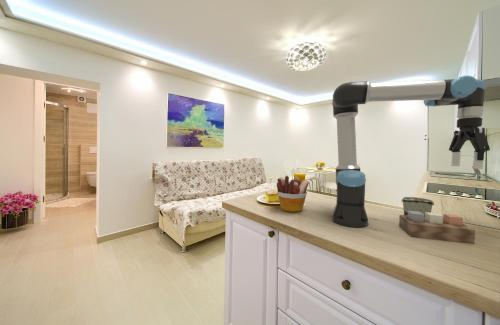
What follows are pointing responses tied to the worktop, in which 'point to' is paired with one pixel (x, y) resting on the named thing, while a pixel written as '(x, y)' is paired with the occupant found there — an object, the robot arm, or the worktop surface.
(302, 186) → the bucket of meat
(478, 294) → the worktop surface
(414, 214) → the slate key
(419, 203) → the food container
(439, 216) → the ivory key
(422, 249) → the worktop surface
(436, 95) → the robot arm
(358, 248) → the worktop surface
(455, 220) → the terracotta key
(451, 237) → the brown wooden tray
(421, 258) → the worktop surface
